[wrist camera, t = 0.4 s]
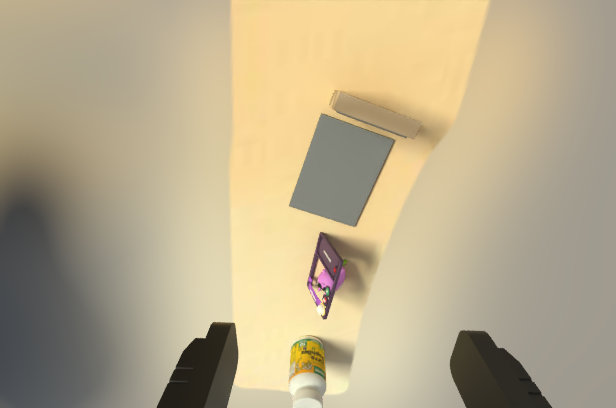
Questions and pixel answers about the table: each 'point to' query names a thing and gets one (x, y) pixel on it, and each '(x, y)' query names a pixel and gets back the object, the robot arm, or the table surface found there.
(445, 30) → the table surface
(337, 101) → the tile
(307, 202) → the felt mat
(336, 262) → the purple toy case
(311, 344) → the supplement bottle
